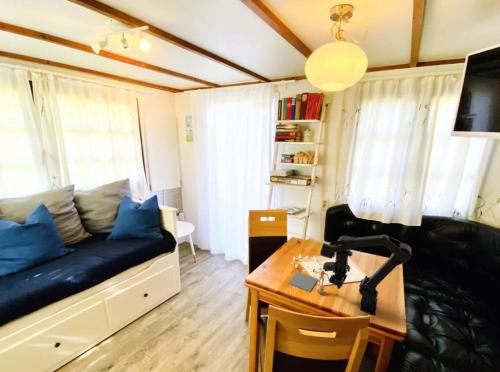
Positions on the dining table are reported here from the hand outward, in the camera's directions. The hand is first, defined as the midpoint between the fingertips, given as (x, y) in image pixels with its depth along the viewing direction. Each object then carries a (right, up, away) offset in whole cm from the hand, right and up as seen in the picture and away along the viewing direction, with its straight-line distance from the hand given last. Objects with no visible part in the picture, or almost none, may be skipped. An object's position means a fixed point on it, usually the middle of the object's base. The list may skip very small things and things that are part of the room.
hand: (338, 288), depth 122 cm
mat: (-15, -3, +15) cm, 21 cm away
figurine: (-8, -5, +6) cm, 11 cm away
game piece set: (-9, +1, +34) cm, 36 cm away
